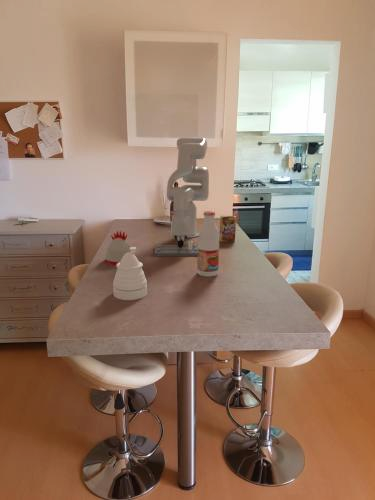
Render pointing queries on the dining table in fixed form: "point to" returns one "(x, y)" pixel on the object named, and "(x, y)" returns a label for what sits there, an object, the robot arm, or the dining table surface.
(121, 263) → the honey pot
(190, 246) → the fader
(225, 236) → the candy box
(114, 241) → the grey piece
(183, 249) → the console
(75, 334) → the dining table surface
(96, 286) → the dining table surface
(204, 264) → the fruit juice
